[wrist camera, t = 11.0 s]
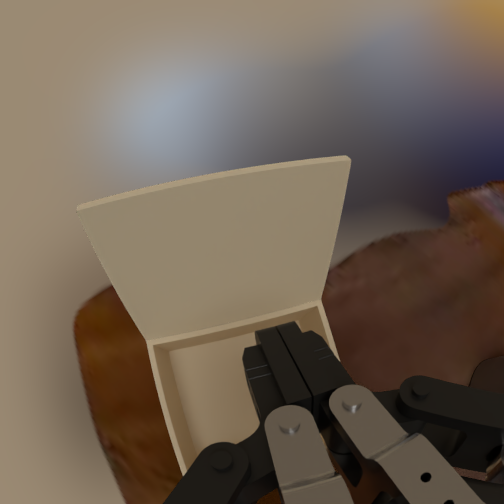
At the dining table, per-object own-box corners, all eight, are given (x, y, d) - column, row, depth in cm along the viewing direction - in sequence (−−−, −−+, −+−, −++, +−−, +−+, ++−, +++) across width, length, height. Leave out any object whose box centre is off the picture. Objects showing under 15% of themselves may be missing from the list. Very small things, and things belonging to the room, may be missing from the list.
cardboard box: (300, 315, 34) (320, 299, 27) (332, 426, 29) (361, 438, 22) (164, 348, 31) (146, 340, 24) (195, 463, 27) (187, 488, 19)
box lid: (320, 298, 27) (317, 293, 27) (351, 160, 17) (345, 154, 17) (145, 340, 24) (145, 333, 25) (76, 211, 14) (78, 204, 15)
